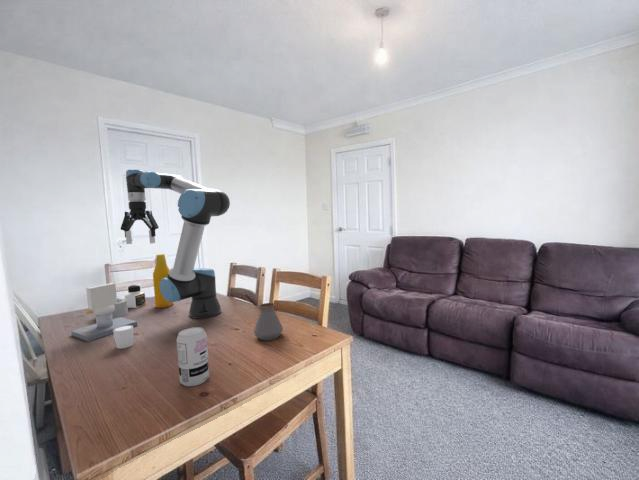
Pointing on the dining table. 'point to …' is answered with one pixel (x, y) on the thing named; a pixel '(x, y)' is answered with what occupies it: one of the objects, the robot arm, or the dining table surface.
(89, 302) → the white round-based slab
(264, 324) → the coffee pot
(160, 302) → the beer bottle
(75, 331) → the post plinth
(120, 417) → the dining table surface
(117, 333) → the shot glass
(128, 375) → the dining table surface
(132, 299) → the medicine bottle
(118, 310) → the lumpy-topped squat cylinder
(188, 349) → the supplement can
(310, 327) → the dining table surface
